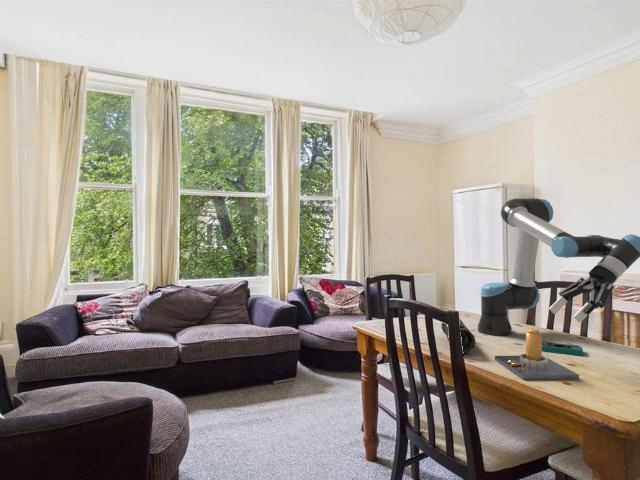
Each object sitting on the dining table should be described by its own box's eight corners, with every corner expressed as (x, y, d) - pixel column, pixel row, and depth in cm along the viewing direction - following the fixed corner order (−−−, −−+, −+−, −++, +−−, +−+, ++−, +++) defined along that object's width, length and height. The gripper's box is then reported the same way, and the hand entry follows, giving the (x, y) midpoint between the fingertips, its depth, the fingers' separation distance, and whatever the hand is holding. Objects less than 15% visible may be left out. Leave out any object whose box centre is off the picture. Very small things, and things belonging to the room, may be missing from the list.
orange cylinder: (523, 362, 135) (523, 328, 135) (536, 362, 135) (536, 328, 135) (530, 366, 130) (530, 331, 130) (544, 366, 130) (544, 331, 130)
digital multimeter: (539, 347, 160) (538, 340, 160) (581, 352, 152) (581, 345, 152) (538, 352, 153) (538, 344, 153) (583, 357, 146) (583, 349, 146)
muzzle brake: (450, 354, 149) (450, 328, 149) (440, 336, 177) (440, 314, 177) (476, 355, 148) (476, 329, 148) (462, 337, 175) (462, 314, 175)
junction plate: (494, 359, 142) (494, 349, 142) (542, 359, 142) (542, 348, 142) (523, 379, 122) (522, 367, 122) (579, 379, 122) (578, 367, 122)
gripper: (644, 283, 119) (597, 331, 120) (589, 275, 144) (549, 315, 145) (627, 267, 119) (580, 315, 120) (575, 261, 144) (535, 301, 145)
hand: (563, 315), depth 132 cm, fingers open, 13 cm apart
